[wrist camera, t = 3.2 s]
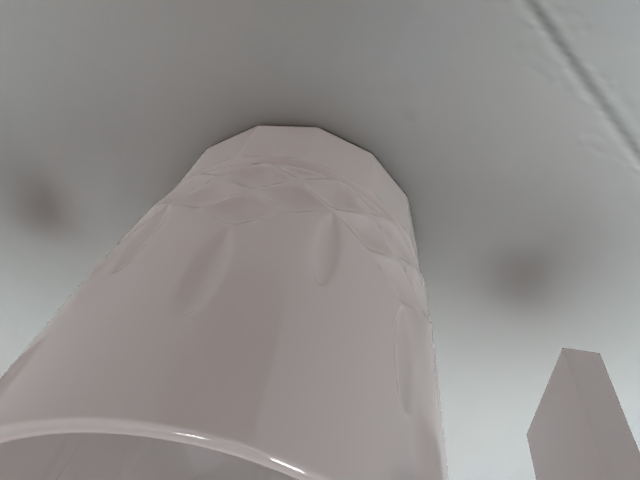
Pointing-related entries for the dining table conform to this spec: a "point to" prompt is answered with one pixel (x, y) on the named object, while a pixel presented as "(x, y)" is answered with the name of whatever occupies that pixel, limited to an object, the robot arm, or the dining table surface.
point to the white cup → (242, 333)
